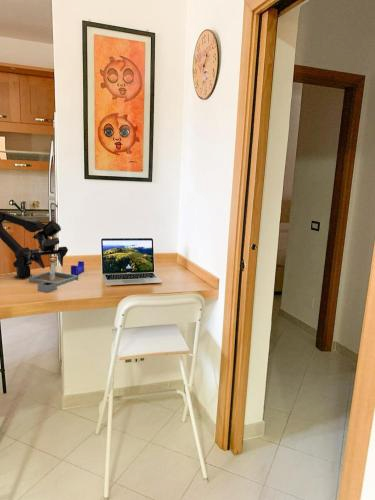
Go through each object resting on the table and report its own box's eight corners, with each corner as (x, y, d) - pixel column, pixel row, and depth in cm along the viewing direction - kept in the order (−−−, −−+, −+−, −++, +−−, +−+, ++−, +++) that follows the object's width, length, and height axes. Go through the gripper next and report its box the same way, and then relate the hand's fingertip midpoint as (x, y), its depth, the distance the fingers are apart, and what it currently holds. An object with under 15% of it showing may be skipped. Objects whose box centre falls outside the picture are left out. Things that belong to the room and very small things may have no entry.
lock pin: (46, 283, 190) (46, 257, 187) (51, 281, 193) (52, 256, 191) (52, 284, 188) (53, 258, 186) (58, 283, 192) (58, 257, 189)
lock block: (37, 293, 176) (37, 284, 175) (46, 290, 182) (46, 281, 181) (48, 295, 174) (47, 286, 173) (56, 292, 180) (56, 283, 179)
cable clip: (76, 270, 220) (76, 260, 219) (84, 271, 219) (84, 261, 218) (68, 276, 208) (68, 265, 207) (76, 276, 208) (76, 266, 206)
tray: (28, 283, 191) (28, 277, 190) (51, 276, 205) (50, 271, 205) (57, 289, 184) (57, 283, 184) (78, 281, 199) (78, 275, 198)
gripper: (29, 233, 182) (38, 260, 177) (66, 231, 195) (75, 256, 189) (24, 246, 190) (32, 272, 184) (60, 243, 202) (69, 267, 196)
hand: (53, 266), depth 188 cm, fingers open, 9 cm apart
